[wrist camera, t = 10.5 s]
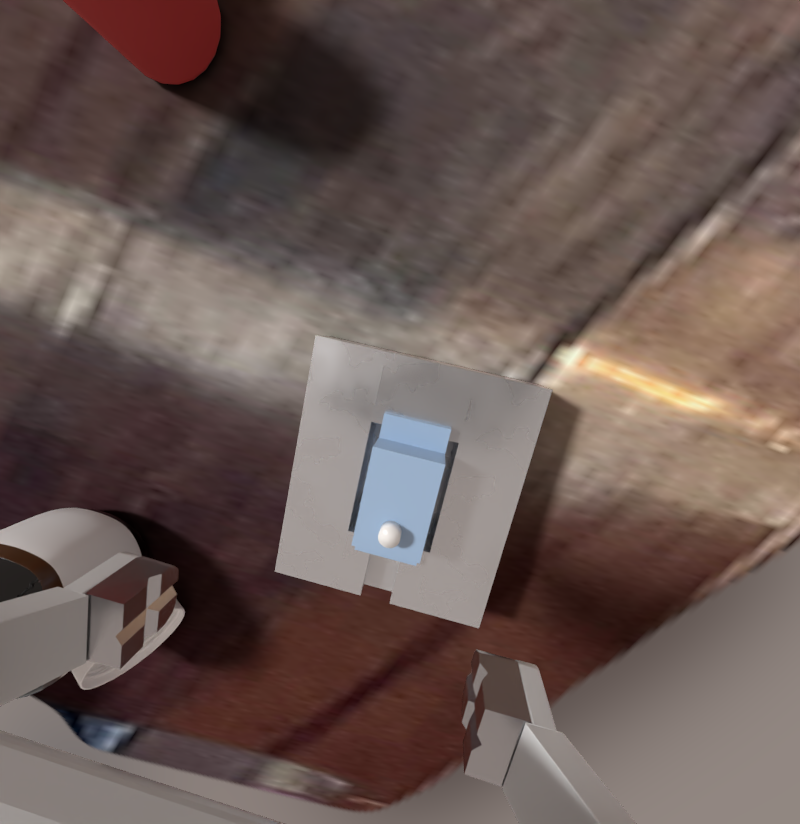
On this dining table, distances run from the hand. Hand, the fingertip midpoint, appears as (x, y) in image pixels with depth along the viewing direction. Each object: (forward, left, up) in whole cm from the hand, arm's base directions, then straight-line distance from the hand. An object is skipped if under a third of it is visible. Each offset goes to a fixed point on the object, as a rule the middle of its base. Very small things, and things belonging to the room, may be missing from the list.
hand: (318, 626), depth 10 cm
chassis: (-1, +1, -17) cm, 17 cm away
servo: (-1, +1, -16) cm, 16 cm away
